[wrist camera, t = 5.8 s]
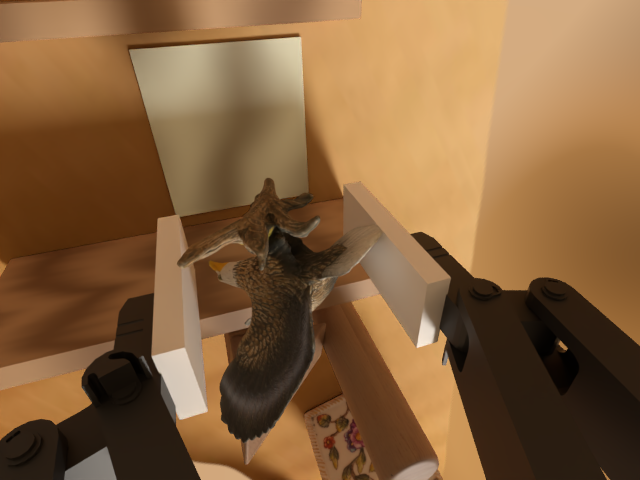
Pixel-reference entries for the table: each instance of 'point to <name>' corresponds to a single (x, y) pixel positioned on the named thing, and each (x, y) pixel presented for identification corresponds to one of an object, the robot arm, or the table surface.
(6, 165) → the table surface
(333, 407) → the decorative jar
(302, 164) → the wall board
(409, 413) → the wooden block
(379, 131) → the table surface
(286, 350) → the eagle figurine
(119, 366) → the robot arm
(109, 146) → the table surface
